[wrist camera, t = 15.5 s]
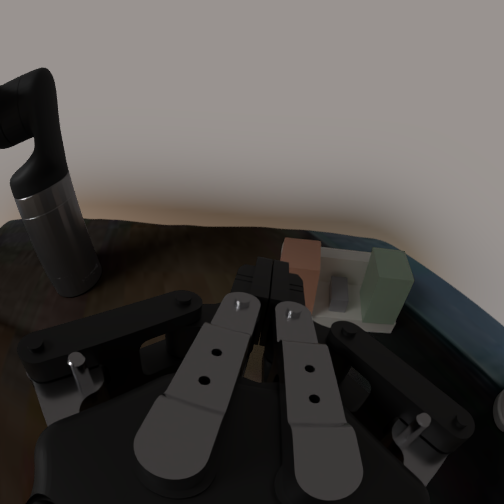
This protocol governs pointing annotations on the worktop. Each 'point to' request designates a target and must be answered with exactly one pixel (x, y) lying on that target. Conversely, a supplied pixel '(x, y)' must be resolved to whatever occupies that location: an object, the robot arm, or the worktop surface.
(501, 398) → the travel mug
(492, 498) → the worktop surface
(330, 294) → the console
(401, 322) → the worktop surface
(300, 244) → the terracotta rectangular block
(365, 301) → the green rectangular block
